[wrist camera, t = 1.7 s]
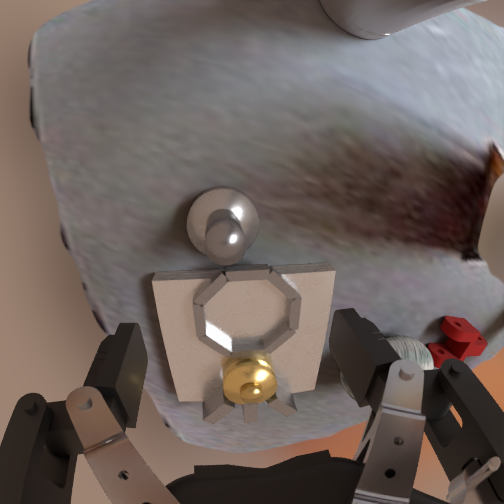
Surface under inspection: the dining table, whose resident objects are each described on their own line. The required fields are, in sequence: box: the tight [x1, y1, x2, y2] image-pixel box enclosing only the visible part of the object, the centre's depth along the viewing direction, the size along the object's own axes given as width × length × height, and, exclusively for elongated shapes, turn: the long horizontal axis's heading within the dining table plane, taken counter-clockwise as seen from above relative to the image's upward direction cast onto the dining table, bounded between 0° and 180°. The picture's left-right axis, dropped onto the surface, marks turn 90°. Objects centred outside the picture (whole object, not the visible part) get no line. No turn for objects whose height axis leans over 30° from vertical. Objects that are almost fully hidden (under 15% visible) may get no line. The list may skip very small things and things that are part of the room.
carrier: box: [152, 263, 336, 424], centre depth 29 cm, size 21×18×6 cm
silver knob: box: [187, 186, 259, 265], centre depth 24 cm, size 6×6×7 cm
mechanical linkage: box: [427, 316, 488, 368], centre depth 37 cm, size 16×7×5 cm, turn 73°
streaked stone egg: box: [340, 336, 433, 400], centre depth 33 cm, size 14×10×10 cm
